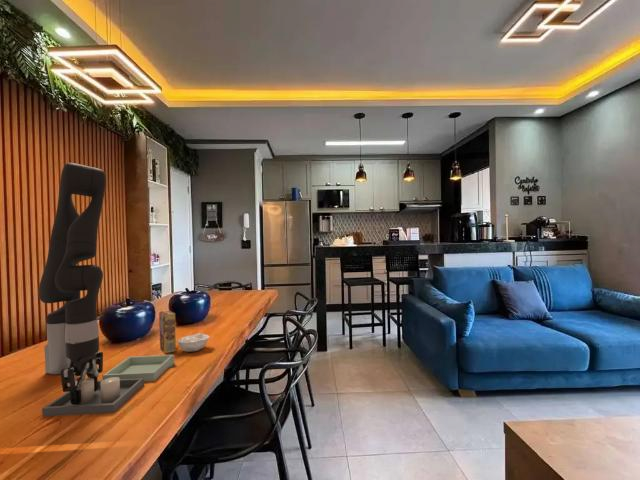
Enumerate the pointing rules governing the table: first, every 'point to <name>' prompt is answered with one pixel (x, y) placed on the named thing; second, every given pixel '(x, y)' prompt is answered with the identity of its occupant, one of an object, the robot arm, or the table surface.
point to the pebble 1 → (87, 390)
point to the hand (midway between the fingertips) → (84, 397)
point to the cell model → (193, 342)
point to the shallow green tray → (141, 367)
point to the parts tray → (93, 401)
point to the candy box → (167, 331)
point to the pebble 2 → (110, 389)
